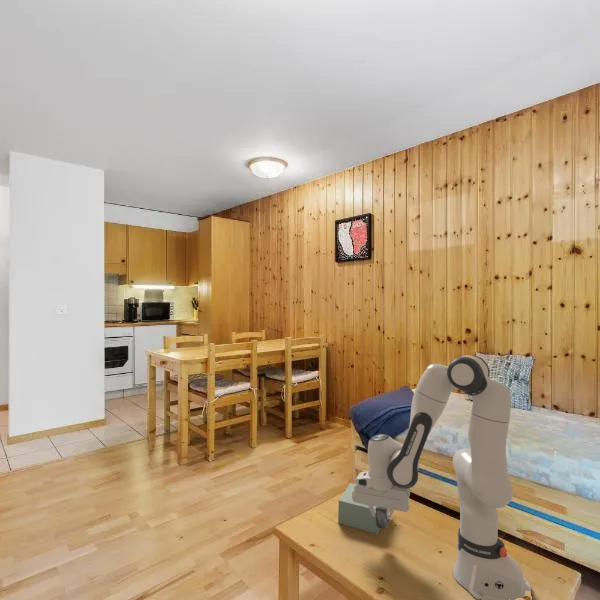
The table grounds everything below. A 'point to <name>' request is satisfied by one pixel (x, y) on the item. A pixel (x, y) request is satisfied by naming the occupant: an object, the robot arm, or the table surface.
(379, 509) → the cylinder
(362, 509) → the box with square opening
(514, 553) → the table surface
